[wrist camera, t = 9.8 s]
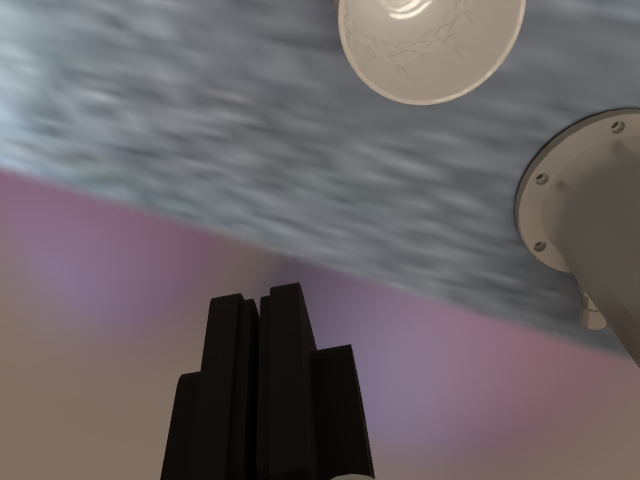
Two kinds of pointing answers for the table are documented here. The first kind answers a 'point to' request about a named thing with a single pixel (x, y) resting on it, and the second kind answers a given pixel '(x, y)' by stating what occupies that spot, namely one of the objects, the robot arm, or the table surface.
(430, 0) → the white cup
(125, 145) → the table surface
